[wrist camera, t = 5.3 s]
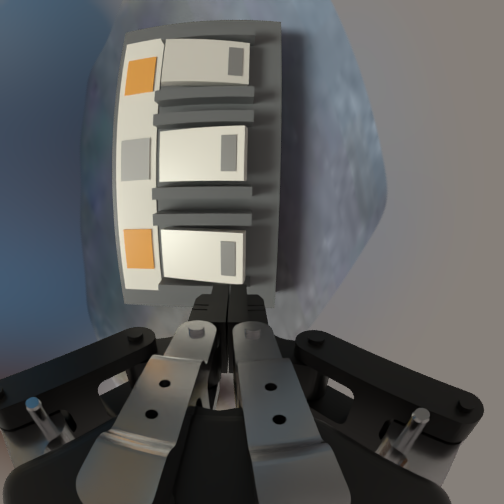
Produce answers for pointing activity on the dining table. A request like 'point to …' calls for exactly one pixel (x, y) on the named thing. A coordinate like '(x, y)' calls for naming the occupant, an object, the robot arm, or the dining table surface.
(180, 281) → the switch unit
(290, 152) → the dining table surface
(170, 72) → the switch
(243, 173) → the switch mid
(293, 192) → the dining table surface
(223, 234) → the switch
